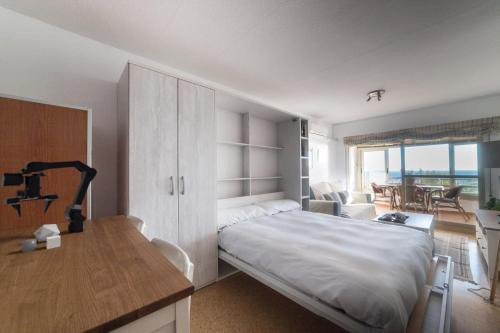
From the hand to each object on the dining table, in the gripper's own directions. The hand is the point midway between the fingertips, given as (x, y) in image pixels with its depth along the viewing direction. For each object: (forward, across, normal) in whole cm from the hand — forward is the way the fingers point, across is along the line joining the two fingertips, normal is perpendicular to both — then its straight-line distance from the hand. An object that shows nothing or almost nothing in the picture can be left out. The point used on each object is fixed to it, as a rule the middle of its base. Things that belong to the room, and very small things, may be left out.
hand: (32, 215), depth 105 cm
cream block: (+13, -1, +21) cm, 25 cm away
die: (+14, -4, +7) cm, 16 cm away
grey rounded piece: (+13, +6, +18) cm, 23 cm away
